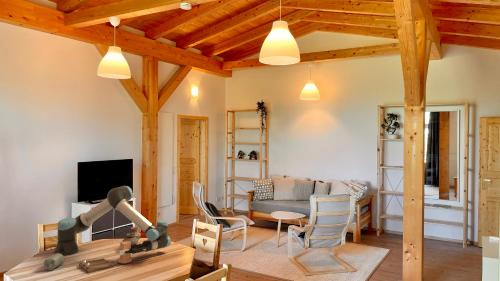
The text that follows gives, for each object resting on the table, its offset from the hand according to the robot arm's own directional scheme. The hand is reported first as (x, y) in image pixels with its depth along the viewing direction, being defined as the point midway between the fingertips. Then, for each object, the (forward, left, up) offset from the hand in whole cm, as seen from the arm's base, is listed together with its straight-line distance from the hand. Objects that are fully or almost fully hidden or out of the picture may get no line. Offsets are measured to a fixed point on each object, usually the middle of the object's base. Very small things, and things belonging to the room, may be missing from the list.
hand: (117, 252), depth 236 cm
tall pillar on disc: (0, +5, -7) cm, 9 cm away
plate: (-5, -12, -8) cm, 15 cm away
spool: (-21, -32, -8) cm, 39 cm away
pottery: (-31, +26, -8) cm, 41 cm away
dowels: (-5, -18, -7) cm, 20 cm away
